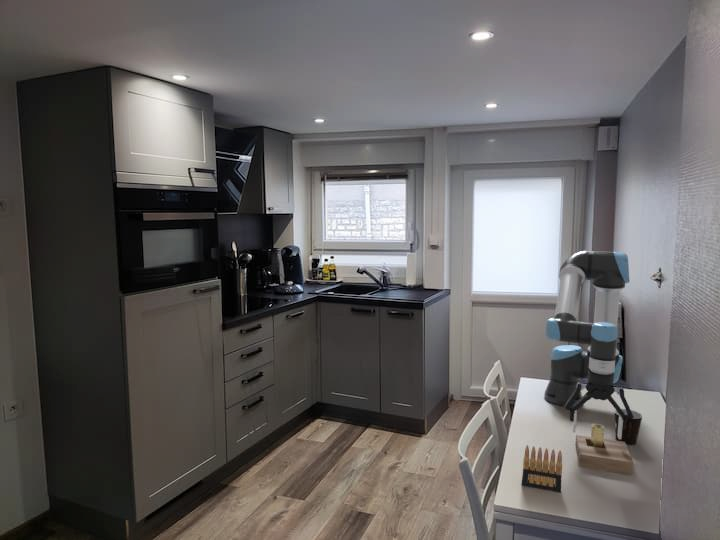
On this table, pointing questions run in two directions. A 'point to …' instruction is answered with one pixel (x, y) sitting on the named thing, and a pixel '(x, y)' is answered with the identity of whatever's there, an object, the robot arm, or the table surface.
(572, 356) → the robot arm
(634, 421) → the coffee mug
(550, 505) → the table surface
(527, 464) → the ammunition clip
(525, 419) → the table surface
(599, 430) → the tan cylinder
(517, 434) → the table surface
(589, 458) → the block
